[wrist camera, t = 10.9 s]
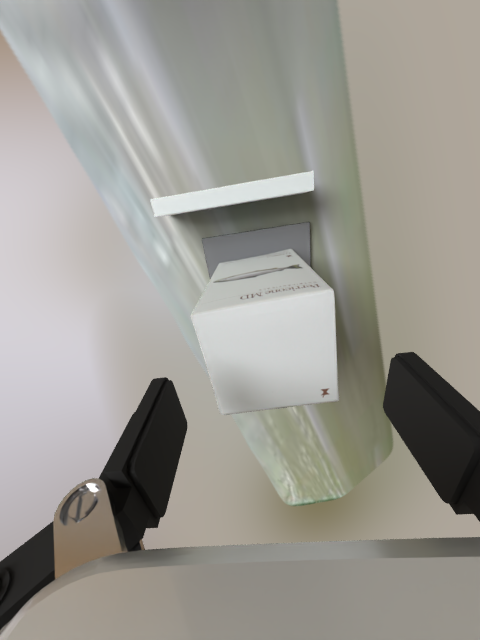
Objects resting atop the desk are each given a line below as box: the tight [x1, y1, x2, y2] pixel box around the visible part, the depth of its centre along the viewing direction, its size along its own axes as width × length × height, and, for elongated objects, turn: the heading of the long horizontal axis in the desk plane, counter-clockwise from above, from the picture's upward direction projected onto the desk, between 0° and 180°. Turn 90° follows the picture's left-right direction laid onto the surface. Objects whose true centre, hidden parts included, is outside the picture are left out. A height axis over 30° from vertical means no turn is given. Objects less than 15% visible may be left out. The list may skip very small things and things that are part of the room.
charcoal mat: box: [202, 222, 311, 279], centre depth 24 cm, size 12×10×1 cm
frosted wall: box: [150, 171, 314, 217], centre depth 19 cm, size 1×12×4 cm, turn 99°
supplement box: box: [191, 249, 339, 415], centre depth 18 cm, size 7×7×13 cm
